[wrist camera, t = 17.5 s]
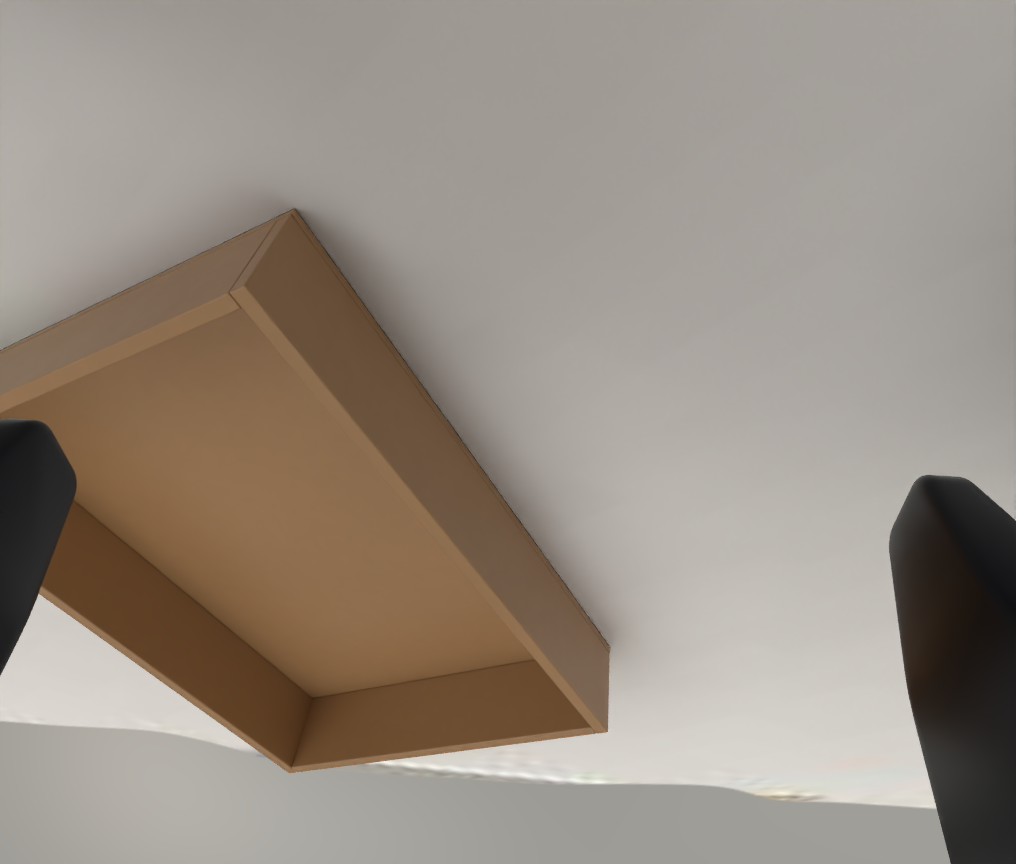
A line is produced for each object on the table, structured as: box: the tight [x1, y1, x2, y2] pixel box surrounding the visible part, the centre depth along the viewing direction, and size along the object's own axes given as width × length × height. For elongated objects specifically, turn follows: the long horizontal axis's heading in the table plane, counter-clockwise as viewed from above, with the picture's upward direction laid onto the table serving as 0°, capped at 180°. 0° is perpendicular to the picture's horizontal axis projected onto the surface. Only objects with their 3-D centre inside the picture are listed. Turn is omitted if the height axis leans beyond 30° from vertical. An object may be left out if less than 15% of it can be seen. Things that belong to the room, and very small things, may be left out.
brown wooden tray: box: [0, 209, 610, 773], centre depth 29 cm, size 16×22×4 cm
